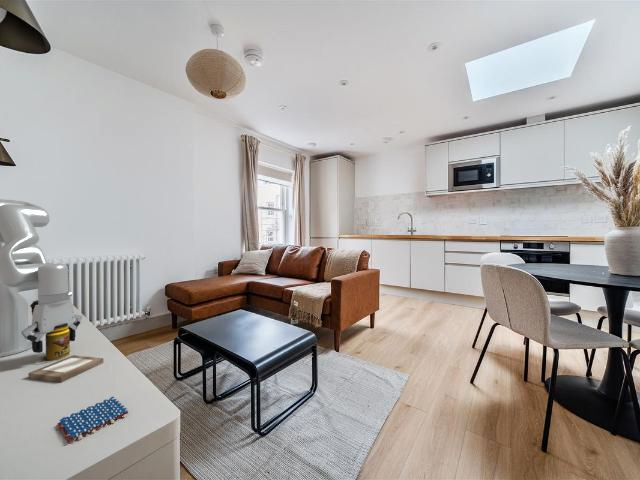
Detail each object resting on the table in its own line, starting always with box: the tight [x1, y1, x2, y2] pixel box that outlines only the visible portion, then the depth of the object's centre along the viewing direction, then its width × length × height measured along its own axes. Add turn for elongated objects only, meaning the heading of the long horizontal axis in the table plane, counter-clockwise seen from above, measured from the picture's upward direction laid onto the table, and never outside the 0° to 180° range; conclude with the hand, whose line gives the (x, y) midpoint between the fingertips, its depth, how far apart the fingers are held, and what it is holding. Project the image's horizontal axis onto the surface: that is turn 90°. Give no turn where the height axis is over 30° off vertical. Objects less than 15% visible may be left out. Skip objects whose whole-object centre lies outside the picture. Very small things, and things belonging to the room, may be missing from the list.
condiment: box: [33, 323, 74, 365], centre depth 91 cm, size 7×8×12 cm
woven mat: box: [57, 396, 129, 445], centre depth 59 cm, size 10×11×2 cm
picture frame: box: [27, 354, 104, 383], centre depth 82 cm, size 13×12×2 cm
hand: (55, 346), depth 91 cm, fingers open, 9 cm apart
